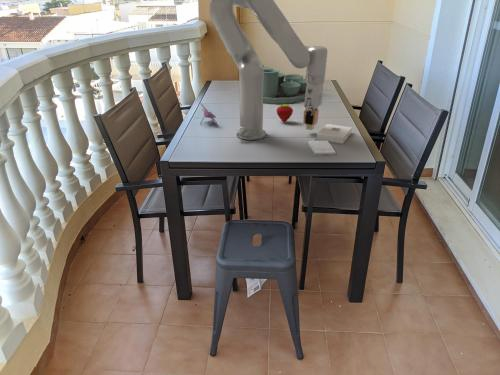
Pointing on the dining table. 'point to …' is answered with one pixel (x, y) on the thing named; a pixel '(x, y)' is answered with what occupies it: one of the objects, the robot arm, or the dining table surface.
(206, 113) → the lily
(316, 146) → the external hard drive
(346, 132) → the socket
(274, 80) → the tea set
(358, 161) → the dining table surface
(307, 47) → the robot arm
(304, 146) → the dining table surface
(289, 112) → the strawberry
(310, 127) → the plug
